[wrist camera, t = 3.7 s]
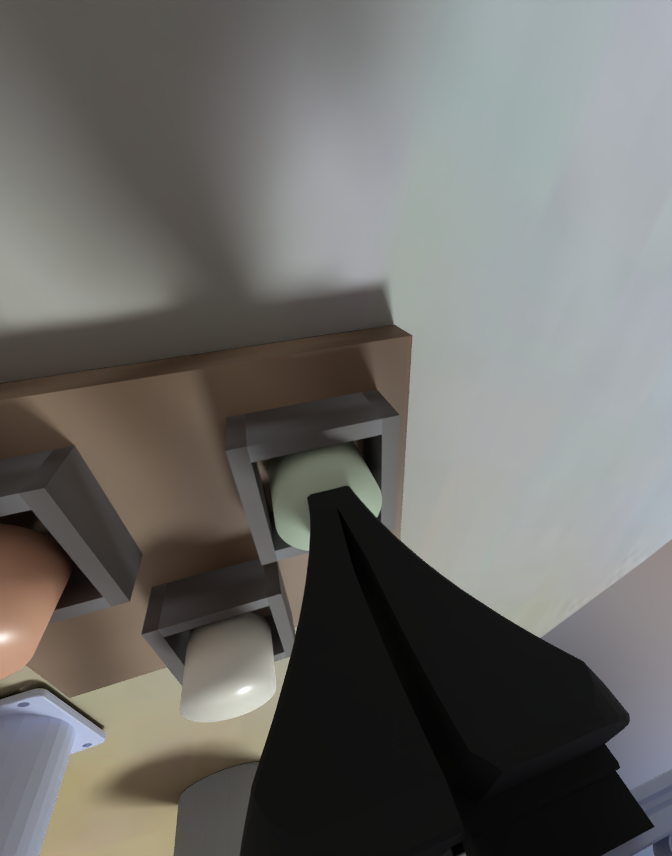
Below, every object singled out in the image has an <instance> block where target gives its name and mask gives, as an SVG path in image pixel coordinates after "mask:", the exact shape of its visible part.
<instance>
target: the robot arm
mask: <svg viewBox="0 0 672 856" xmlns="http://www.w3.org/2000/svg"><path fill="white" fill-rule="evenodd" d="M307 500H308V506H309V513H310V543H309V557H308V566H307V574H306V582H305V589H304V595H303V601H302V606H301V611H300V617H299V622H298V626H297V631H296V635H295V639H294V644H293V648H292V652H291V657H290V661H289V664H288V668H287V672H286V675H285V679H284V683H283V686H282V690H281V693H280V697H279V700H278V704H277V708H276V711H275V714H274V718H273V721H272V724H271V728H270V731H269V734H268V737H267V740H266V743H265V746H264V749H263V752H262V755H261V758H260V761H259V764H258V768H257V771H256V774H255V777H254V780H253V783H252V787H251V792H250V798H249V804H248V809H247V814H246V819H245V825H244V830H243V836H242V842H241V849H240V856H632V855H634V854H636V853H638V852H639V851H641V850H643V849H645V848H647V847H649V846H650V845H652V844H653V851H654V855H655V856H672V769H671V770H669V771H667V772H665V773H663V774H661V775H659V776H657V777H655V778H653V779H651V780H649V781H647V782H645V783H643V784H641V785H639V786H637V787H635V788H633V789H631V790H629V789H628V788H627V787H626V785H625V784H624V782H623V781H622V779H621V778H620V777H619V775H618V774H617V772H616V770H618V769H619V768H620V766H619V764H618V761H617V760H616V759H615V757H614V756H613V755H612V753H611V752H610V750H609V749H608V748H607V746H606V745H605V743H606V742H608V741H609V740H610V739H611V738H613V737H614V736H615V735H617V734H618V733H619V732H620V731H621V730H623V729H624V728H625V727H626V726H627V725H628V724H629V721H630V718H629V714H628V712H627V711H626V710H625V709H624V707H623V706H622V705H621V704H620V703H619V701H618V700H617V699H616V698H615V697H614V695H613V694H612V693H611V692H610V690H609V689H608V688H607V687H606V685H605V684H604V683H603V682H602V681H601V680H600V679H599V678H598V677H597V676H596V675H595V674H594V672H593V671H592V670H591V669H589V667H588V666H587V665H586V664H585V663H584V662H583V661H581V660H580V659H578V658H576V657H574V656H572V655H570V654H568V653H566V652H565V651H563V650H561V649H559V648H557V647H555V646H553V645H551V644H550V643H548V642H546V641H544V640H542V639H541V638H539V637H537V636H535V635H533V634H532V633H530V632H528V631H526V630H525V629H523V628H521V627H520V626H518V625H516V624H515V623H513V622H511V621H510V620H508V619H506V618H505V617H503V616H501V615H500V614H498V613H497V612H495V611H494V610H492V609H491V608H489V607H487V606H486V605H484V604H483V603H481V602H480V601H478V600H477V599H475V598H474V597H472V596H471V595H469V594H468V593H466V592H465V591H463V590H462V589H460V588H459V587H457V586H456V585H455V584H453V583H452V582H451V581H449V580H448V579H446V578H445V577H444V576H442V575H441V574H440V573H439V572H437V571H436V570H435V569H433V568H432V567H431V566H429V565H428V564H427V563H426V562H425V561H423V560H422V559H421V558H420V557H419V556H417V555H416V554H415V553H414V552H413V551H412V550H410V549H409V548H408V547H407V546H406V545H405V544H404V543H402V542H401V541H400V540H399V539H398V538H397V537H396V536H395V535H394V534H393V533H392V532H391V531H390V530H389V529H388V528H387V527H386V526H385V525H384V524H383V523H382V522H381V521H380V520H379V519H378V518H377V517H376V516H375V515H374V514H373V513H372V512H371V511H370V510H369V509H368V508H367V507H366V505H365V504H364V503H363V502H362V501H361V500H360V499H359V497H358V496H357V495H356V494H355V493H354V491H353V490H352V489H351V487H349V486H343V487H339V488H335V489H331V490H326V491H322V492H318V493H314V494H310V495H309V496H308V497H307ZM105 737H106V733H105V732H104V731H103V730H102V729H100V728H99V727H97V726H96V725H95V724H93V723H92V722H91V721H89V720H88V719H86V718H85V717H84V716H82V715H81V714H80V713H78V712H77V711H75V710H74V709H73V708H71V707H70V706H69V705H67V704H66V703H64V702H63V701H62V700H60V699H59V698H58V697H56V696H55V695H53V694H52V693H51V692H49V691H48V690H46V689H42V688H37V689H33V690H29V691H26V692H23V693H19V694H16V695H13V696H10V697H6V698H3V699H0V856H39V854H40V851H41V847H42V844H43V841H44V838H45V834H46V831H47V828H48V825H49V822H50V818H51V815H52V812H53V809H54V805H55V802H56V799H57V796H58V792H59V789H60V786H61V783H62V779H63V776H64V773H65V770H66V766H67V763H68V760H69V757H70V754H72V753H75V752H78V751H81V750H84V749H87V748H90V747H93V746H96V745H99V744H101V743H102V742H104V740H105Z"/></svg>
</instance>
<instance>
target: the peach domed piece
mask: <svg viewBox="0 0 672 856" xmlns="http://www.w3.org/2000/svg"><path fill="white" fill-rule="evenodd" d="M71 572H72V560H71V558H70V556H69V555H68V554H67V552H66V551H65V550H64V549H63V547H62V546H61V545H60V544H59V543H58V542H56V541H55V540H53V539H51V538H50V537H48V536H46V535H44V534H42V533H39V532H36V531H34V530H31V529H27V528H24V527H19V526H14V525H8V524H0V679H2V678H5V677H7V676H9V675H11V674H13V673H15V672H17V671H18V670H20V669H21V668H22V667H24V666H25V665H26V664H27V663H28V662H29V661H30V660H31V658H32V657H33V655H34V653H35V651H36V648H37V646H38V644H39V642H40V640H41V638H42V636H43V633H44V631H45V629H46V627H47V625H48V623H49V621H50V618H51V616H52V614H53V612H54V610H55V608H56V605H57V603H58V601H59V599H60V597H61V595H62V593H63V590H64V588H65V586H66V584H67V582H68V580H69V578H70V575H71Z"/></svg>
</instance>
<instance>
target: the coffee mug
mask: <svg viewBox="0 0 672 856" xmlns="http://www.w3.org/2000/svg"><path fill="white" fill-rule="evenodd" d="M258 764H259V762H252V763H247V764H242V765H238V766H234V767H231V768H228V769H225V770H222V771H220V772H217V773H214V774H212V775H209V776H207V777H205V778H204V779H202V780H200V781H198V782H196V783H194V784H193V785H191V786H190V787H188V788H187V789H186V790H185V791H184V792H183V793H182V794H181V796H180V798H179V804H178V815H177V825H176V836H175V847H174V856H240V849H241V842H242V836H243V830H244V825H245V819H246V814H247V809H248V804H249V798H250V792H251V787H252V783H253V780H254V777H255V774H256V771H257V768H258Z"/></svg>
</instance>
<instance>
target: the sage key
mask: <svg viewBox="0 0 672 856" xmlns="http://www.w3.org/2000/svg"><path fill="white" fill-rule="evenodd" d="M268 477H269V484H270V491H271V498H272V505H273V512H274V519H275V526H276V530H277V532H278V534H279V536H280V537H281V538H282V539H283V540H284V541H285V542H286V543H287V544H289V545H291V546H292V547H295V548H297V549H301V550H306V551H309V543H310V513H309V506H308V500H307V497H308V496H309V495H310V494H314V493H318V492H322V491H326V490H331V489H335V488H339V487H343V486H349V487H351V489H352V490H353V491H354V493H355V494H356V495H357V496H358V497H359V499H360V500H361V501H362V502H363V503H364V504H365V505H366V507H367V508H368V509H369V510H370V511H371V512H372V513H373V514H374V515H375V516H376V517H378V515H379V512H380V510H381V506H382V494H381V490H380V488H379V486H378V484H377V483H376V481H375V479H374V477H373V476H372V474H371V472H370V470H369V468H368V467H367V465H366V463H365V461H364V460H363V458H362V456H361V454H360V452H359V451H358V449H357V447H356V445H355V444H354V443H353V441H349V442H345V443H340V444H336V445H331V446H326V447H322V448H317V449H312V450H308V451H303V452H298V453H294V454H289V455H284V456H280V457H275V458H271V460H270V463H269V468H268Z"/></svg>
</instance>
